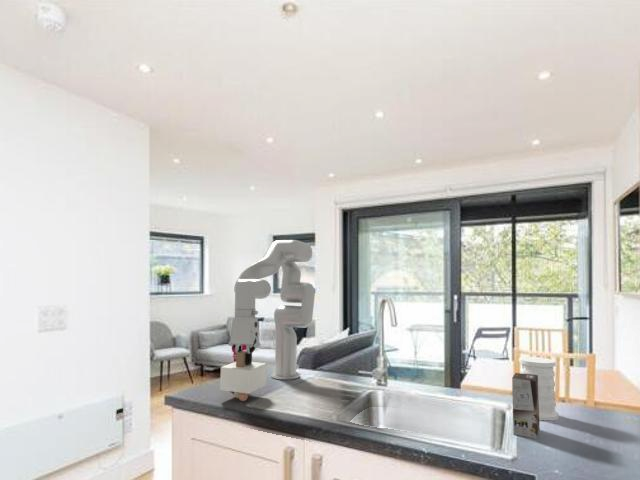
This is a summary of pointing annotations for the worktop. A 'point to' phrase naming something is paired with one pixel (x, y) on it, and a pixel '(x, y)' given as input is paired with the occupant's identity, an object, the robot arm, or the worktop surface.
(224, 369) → the cover
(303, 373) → the worktop surface
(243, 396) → the terracotta ball
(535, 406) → the coffee box
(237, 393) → the pine cube
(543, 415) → the decorative container
